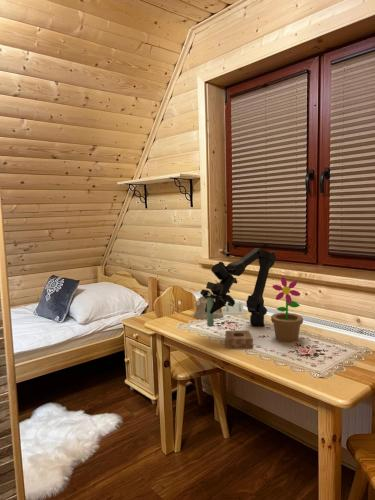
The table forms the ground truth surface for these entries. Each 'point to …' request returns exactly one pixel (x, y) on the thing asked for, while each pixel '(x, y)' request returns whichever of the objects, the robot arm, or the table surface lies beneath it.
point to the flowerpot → (286, 315)
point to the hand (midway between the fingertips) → (208, 312)
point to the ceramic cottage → (201, 309)
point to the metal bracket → (234, 309)
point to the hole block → (239, 339)
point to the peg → (210, 316)
